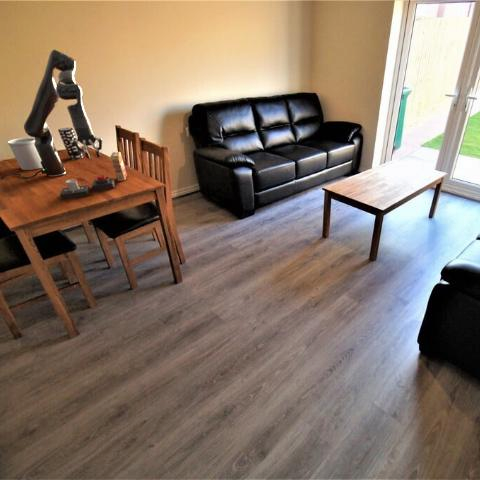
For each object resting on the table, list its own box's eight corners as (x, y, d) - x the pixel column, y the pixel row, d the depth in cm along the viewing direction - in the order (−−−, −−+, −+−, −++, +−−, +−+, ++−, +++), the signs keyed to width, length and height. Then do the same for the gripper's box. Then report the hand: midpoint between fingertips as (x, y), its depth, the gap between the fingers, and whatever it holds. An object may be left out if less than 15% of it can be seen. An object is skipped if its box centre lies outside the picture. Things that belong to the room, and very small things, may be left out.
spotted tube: (73, 155, 235) (62, 127, 225) (85, 155, 236) (75, 127, 225) (67, 159, 228) (55, 130, 218) (79, 159, 229) (68, 130, 218)
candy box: (125, 180, 196) (117, 155, 188) (118, 181, 195) (109, 156, 187) (127, 175, 204) (120, 151, 195) (120, 176, 202) (112, 152, 194)
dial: (68, 191, 174) (64, 182, 171) (70, 188, 178) (66, 179, 175) (78, 190, 176) (74, 181, 173) (80, 187, 179) (76, 178, 177)
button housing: (94, 191, 182) (90, 183, 180) (95, 185, 189) (92, 177, 187) (114, 188, 186) (111, 180, 183) (114, 183, 193) (112, 175, 190)
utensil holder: (46, 161, 224) (34, 136, 215) (50, 166, 215) (38, 140, 206) (19, 166, 215) (5, 140, 206) (22, 172, 206) (8, 144, 197)
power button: (97, 181, 183) (96, 177, 182) (98, 178, 186) (97, 175, 185) (105, 180, 184) (104, 176, 183) (106, 177, 187) (105, 174, 186)
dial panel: (61, 200, 172) (59, 194, 171) (65, 193, 180) (62, 187, 178) (88, 196, 177) (86, 190, 175) (90, 189, 184) (88, 184, 183)
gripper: (98, 123, 175) (109, 154, 184) (67, 125, 170) (79, 157, 179) (97, 126, 169) (108, 158, 178) (64, 128, 164) (78, 161, 173)
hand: (94, 158), depth 178 cm, fingers open, 4 cm apart
